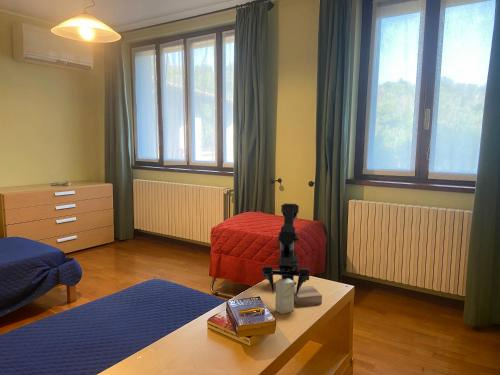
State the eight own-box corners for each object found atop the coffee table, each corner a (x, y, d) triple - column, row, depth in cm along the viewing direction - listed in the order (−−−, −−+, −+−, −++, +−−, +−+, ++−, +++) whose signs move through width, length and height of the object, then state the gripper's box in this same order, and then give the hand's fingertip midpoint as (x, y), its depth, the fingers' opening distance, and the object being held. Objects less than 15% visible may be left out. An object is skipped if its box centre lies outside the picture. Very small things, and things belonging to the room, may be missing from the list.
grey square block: (290, 296, 163) (290, 287, 162) (312, 294, 165) (312, 285, 165) (298, 306, 153) (298, 297, 153) (321, 304, 156) (322, 295, 155)
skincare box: (281, 314, 146) (282, 284, 144) (274, 310, 150) (275, 280, 148) (294, 310, 149) (295, 281, 147) (287, 306, 153) (288, 277, 151)
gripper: (263, 246, 152) (259, 283, 143) (310, 249, 149) (309, 286, 140) (264, 259, 161) (261, 295, 151) (309, 261, 158) (308, 298, 149)
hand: (284, 293), depth 148 cm, fingers open, 9 cm apart
